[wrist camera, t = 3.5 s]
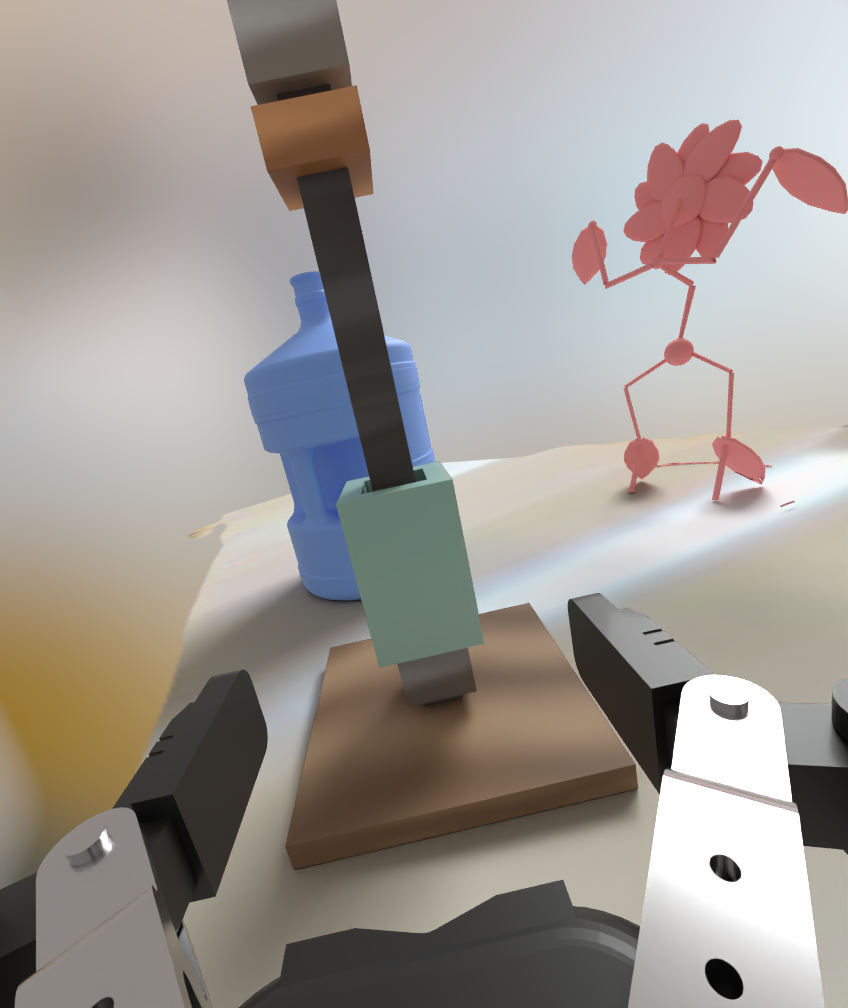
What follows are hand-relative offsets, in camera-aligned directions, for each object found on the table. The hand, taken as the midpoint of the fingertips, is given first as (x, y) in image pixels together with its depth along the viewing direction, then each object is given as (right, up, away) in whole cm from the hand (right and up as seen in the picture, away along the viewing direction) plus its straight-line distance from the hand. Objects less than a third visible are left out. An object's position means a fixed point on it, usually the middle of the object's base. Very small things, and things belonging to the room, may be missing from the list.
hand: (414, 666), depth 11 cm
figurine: (+32, +7, +41) cm, 53 cm away
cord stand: (+1, -7, +14) cm, 15 cm away
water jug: (-4, -3, +36) cm, 36 cm away
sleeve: (0, -2, +12) cm, 13 cm away
